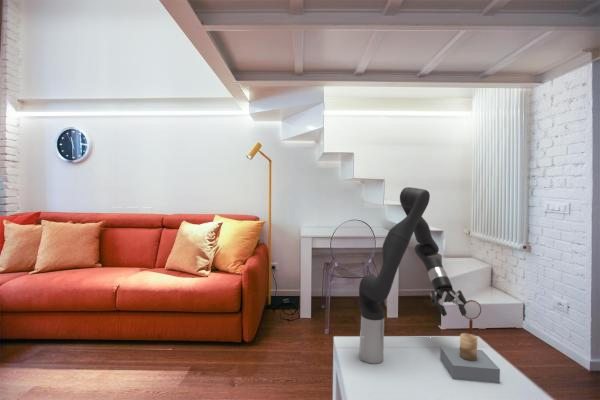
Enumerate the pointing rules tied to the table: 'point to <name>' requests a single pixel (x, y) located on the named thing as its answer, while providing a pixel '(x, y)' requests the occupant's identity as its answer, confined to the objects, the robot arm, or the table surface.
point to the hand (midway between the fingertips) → (454, 315)
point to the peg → (468, 347)
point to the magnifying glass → (472, 312)
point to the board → (469, 366)
